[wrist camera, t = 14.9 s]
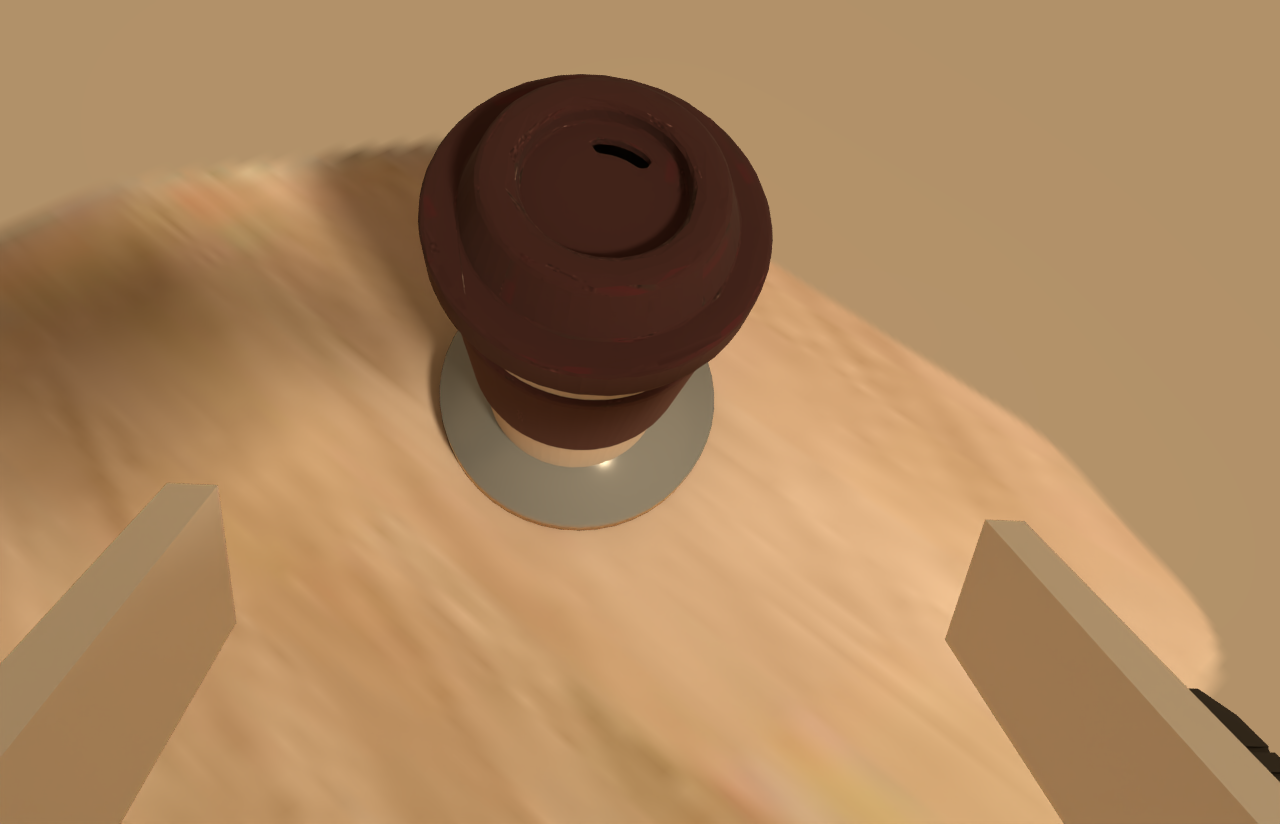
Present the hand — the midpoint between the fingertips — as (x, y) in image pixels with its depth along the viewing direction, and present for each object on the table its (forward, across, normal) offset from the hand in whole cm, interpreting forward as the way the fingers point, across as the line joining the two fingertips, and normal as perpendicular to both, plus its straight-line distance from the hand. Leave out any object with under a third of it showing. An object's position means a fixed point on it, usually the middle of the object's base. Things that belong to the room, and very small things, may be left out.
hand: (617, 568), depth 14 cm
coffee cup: (+20, 0, -6) cm, 21 cm away
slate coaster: (+21, 0, -6) cm, 22 cm away
